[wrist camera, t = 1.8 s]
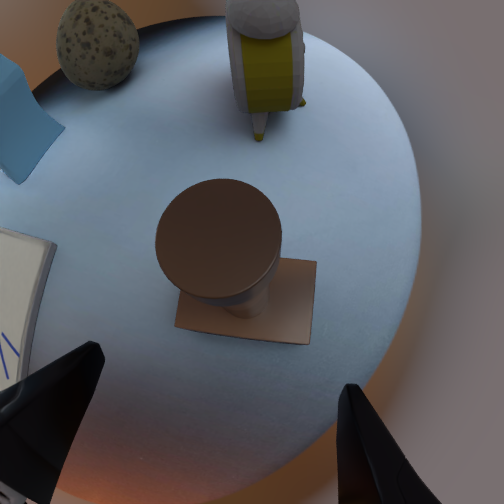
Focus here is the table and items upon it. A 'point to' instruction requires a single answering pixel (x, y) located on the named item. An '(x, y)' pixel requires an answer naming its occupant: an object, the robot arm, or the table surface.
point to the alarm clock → (265, 57)
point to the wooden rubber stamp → (234, 265)
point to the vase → (22, 124)
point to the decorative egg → (96, 44)
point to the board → (20, 299)
